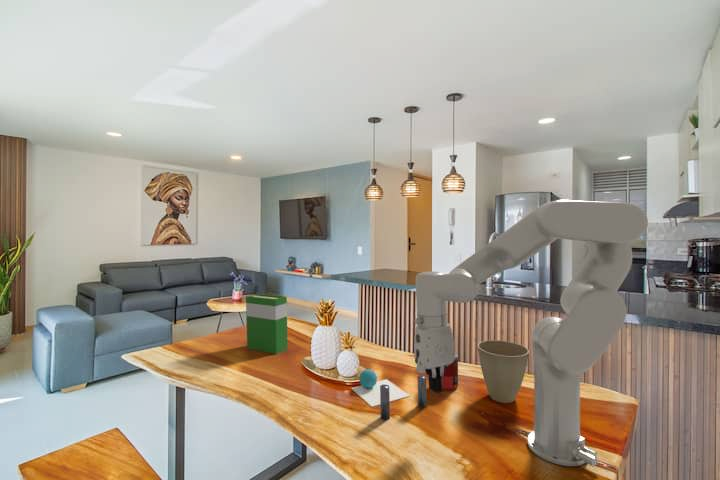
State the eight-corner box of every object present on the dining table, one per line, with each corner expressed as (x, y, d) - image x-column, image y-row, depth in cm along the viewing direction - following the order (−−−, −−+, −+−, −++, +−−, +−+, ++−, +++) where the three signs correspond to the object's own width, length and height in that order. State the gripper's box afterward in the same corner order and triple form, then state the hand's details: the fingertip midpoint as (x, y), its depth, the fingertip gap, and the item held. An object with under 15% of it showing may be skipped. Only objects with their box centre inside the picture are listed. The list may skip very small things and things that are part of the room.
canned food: (459, 392, 113) (458, 358, 113) (434, 390, 115) (433, 357, 114) (457, 381, 121) (457, 350, 120) (433, 380, 122) (433, 349, 122)
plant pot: (503, 414, 99) (503, 359, 99) (467, 392, 113) (467, 343, 112) (540, 403, 105) (540, 351, 105) (502, 383, 119) (502, 337, 118)
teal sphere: (373, 387, 120) (381, 385, 115) (358, 390, 117) (366, 389, 112) (369, 368, 122) (378, 366, 118) (354, 371, 119) (362, 369, 115)
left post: (391, 418, 98) (391, 387, 98) (383, 421, 97) (383, 389, 96) (386, 414, 100) (386, 383, 100) (378, 416, 99) (378, 385, 99)
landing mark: (409, 396, 111) (409, 395, 111) (371, 407, 104) (371, 406, 104) (386, 379, 123) (386, 379, 123) (351, 388, 117) (351, 388, 117)
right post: (428, 407, 104) (428, 377, 104) (421, 409, 103) (421, 379, 102) (422, 403, 106) (422, 374, 106) (416, 405, 105) (415, 376, 105)
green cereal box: (247, 348, 159) (245, 296, 158) (258, 343, 166) (257, 293, 165) (276, 354, 151) (275, 299, 150) (287, 348, 157) (286, 296, 157)
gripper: (417, 328, 82) (421, 404, 82) (464, 318, 89) (467, 388, 89) (399, 321, 89) (403, 392, 89) (444, 313, 96) (448, 378, 96)
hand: (435, 390), depth 89 cm, fingers closed
